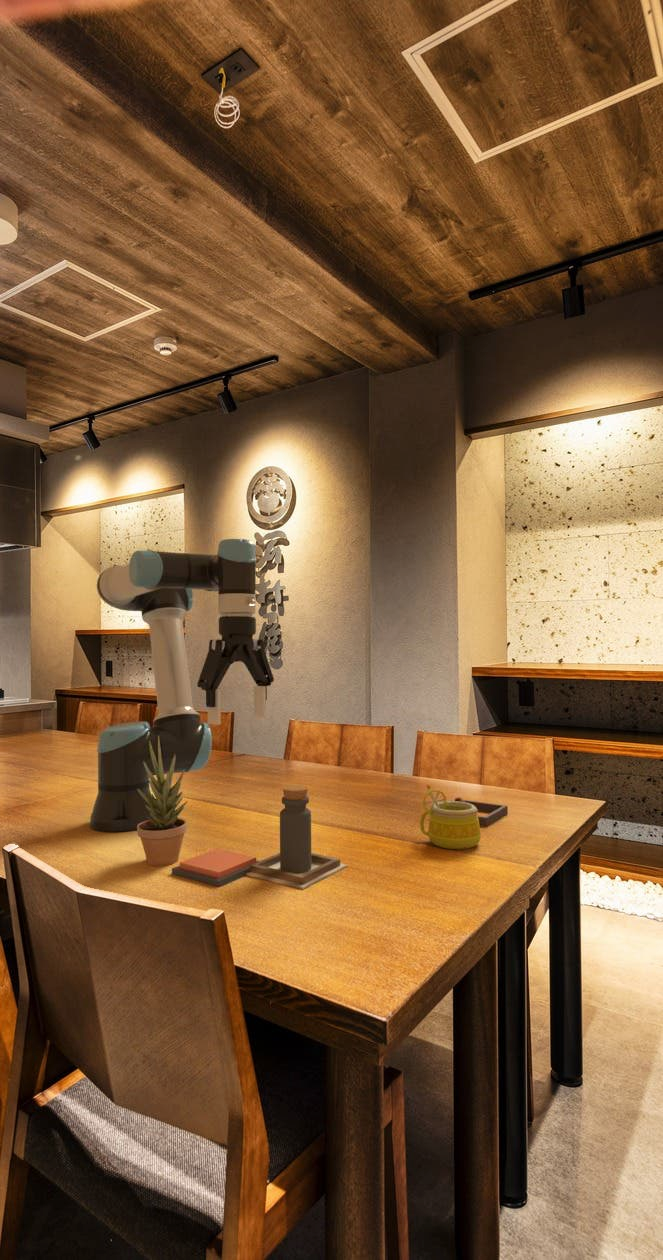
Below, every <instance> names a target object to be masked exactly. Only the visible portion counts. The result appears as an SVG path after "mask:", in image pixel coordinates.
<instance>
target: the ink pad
mask: <svg viewBox="0 0 663 1260" xmlns="http://www.w3.org/2000/svg"><path fill="white" fill-rule="evenodd" d="M259 861H260V860H257V856H252V855H248V854H244V853H239V852H236V851H235V852H234V851H232V850H231V851H230V850H225V849H221V848H215V849H213V850H210V851H207V852H204V853H202V854H199V855H196V856H194V857H191V858H188V859H185V860H182V861H180V862H179V865H178V866H177V865H176V866H174V867H172V868H171V874H172V875H175V876H179V877H182V878H186V879H189V880H193V881H197V882H201V883H204V884H209V885H211V886H215V887H220V888H221V887H223V886H224V885H228V884H230V883H231V882H234V881H235V880H239V879H241V878H243V877H244V876H245V877H246V876H247V875H246V873H249V872H250V865H252V864H254V863H257V862H259Z"/></svg>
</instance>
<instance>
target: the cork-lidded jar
mask: <svg viewBox="0 0 663 1260" xmlns="http://www.w3.org/2000/svg"><path fill="white" fill-rule="evenodd" d="M308 789H309V788H308V786H306V785H297V784H296V785H294V784H293V785H287V786H285V787H282V792H283V796H282V797H281V804H283V805H284V808H283V809H281V810H280V812H279V853H280V869H281V870H282V871H286V872H290V873H294V874H295V873H304V872H307V871H309V870H310V869H311V853H312V811H311V809H309V808H307V804H309V803H310V798H309V796H308V795H307V794H308Z"/></svg>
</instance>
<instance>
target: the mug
mask: <svg viewBox="0 0 663 1260" xmlns="http://www.w3.org/2000/svg"><path fill="white" fill-rule="evenodd" d="M426 789H427V790H428V791H427V792H426V794H425V795H424V797H423V799H422V805H423V808H424V809H425V811H423V812H422V814H421V816H420V821H419V827H420V832H421V833H422V834H424V835H425V836H428V839H429V841H430V842H431V843H432V844H433V845H435V846H437V847H440V848H443V849H448V850H449V849H450V850H465V849H470V848H473V847H476V846H477V845H478V844H479V843H480V840H481V826H480V825H479V819H478V816H479V815H478V809H477V808H476V807H475V806H474V805H472V804H470V803H466V802H458V801H452V800H447V798H446V795H445V794H444V792H443V791H442V790H440V789H431V786H430V785H429V784H426ZM433 792H436V795H435V794H434V793H433ZM440 794H441V795H442V796H443V799H439V800H438V798H439V795H440ZM428 795H429V797H430V799H432V801H426V799H427V797H428ZM428 804H432V805H431V806H430V809H427V807H426V805H428ZM427 815H429V822H428V830H426V829H425V825H424V822H425V818H426V816H427Z"/></svg>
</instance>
